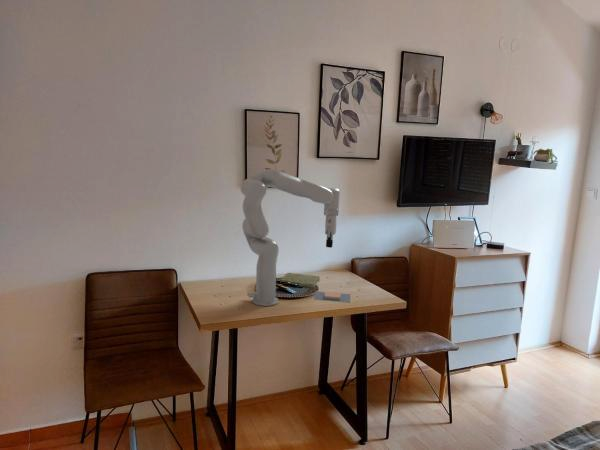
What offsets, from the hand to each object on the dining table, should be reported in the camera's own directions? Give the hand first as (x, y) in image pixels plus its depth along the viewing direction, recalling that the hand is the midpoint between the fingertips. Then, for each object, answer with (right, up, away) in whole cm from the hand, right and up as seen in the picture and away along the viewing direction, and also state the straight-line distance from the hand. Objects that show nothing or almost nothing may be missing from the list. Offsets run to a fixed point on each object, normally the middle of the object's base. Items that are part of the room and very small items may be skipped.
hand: (329, 247), depth 224 cm
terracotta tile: (+2, -24, -1) cm, 24 cm away
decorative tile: (-15, -22, +20) cm, 33 cm away
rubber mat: (+1, -26, -5) cm, 26 cm away
